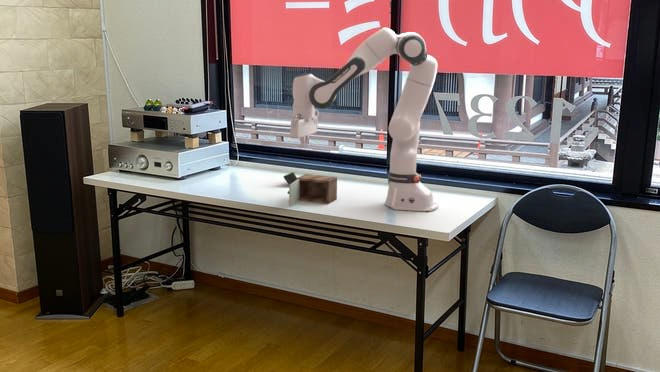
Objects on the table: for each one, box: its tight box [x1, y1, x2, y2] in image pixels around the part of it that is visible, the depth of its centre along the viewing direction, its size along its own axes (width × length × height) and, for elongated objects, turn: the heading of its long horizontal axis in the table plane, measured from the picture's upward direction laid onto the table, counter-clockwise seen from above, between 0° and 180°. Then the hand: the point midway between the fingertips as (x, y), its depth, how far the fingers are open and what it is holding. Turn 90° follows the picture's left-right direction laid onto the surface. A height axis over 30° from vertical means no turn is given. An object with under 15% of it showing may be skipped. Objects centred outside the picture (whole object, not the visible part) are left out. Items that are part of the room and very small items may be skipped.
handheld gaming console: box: [283, 172, 298, 186], centre depth 306 cm, size 12×7×10 cm
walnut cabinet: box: [297, 173, 338, 205], centre depth 277 cm, size 15×9×10 cm, turn 67°
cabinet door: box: [287, 179, 300, 207], centre depth 269 cm, size 12×2×9 cm, turn 166°
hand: (304, 146), depth 267 cm, fingers closed
